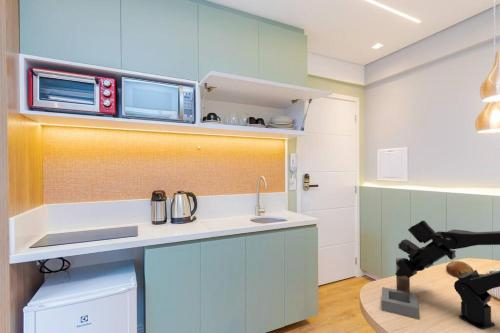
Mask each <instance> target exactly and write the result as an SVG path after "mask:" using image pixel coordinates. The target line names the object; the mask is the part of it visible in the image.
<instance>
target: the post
mask: <svg viewBox="0 0 500 333" xmlns="http://www.w3.org/2000/svg"><path fill="white" fill-rule="evenodd" d="M402 258H403V257H396V258H395V263H396V262H397V261H398V260H400V259H402ZM395 269H396V270H395V273H396V272H397V271H398V269H399V267H398V265H397V264H395ZM395 278H396V290H400V291H405V292H410V293H411V287H410V286H411V284H410V282H411V280H410V278H411V277H410V278H408V277H407V276H396V275H395Z"/></svg>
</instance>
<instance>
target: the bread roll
mask: <svg viewBox="0 0 500 333" xmlns="http://www.w3.org/2000/svg"><path fill="white" fill-rule="evenodd" d="M445 267H446V268H445V271H446V273H447V274H448V275H450V276H452V277H455V278H456V279H458V277H460V276H461V275H462V274H464V273H471V272H473V271H474V269H473V267H472V266H471V265H469V264H468V263H466V262H464V261H460V260H452V261H450V262H449V263H448V264H447V265H446V266H445Z"/></svg>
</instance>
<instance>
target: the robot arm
mask: <svg viewBox="0 0 500 333" xmlns="http://www.w3.org/2000/svg"><path fill="white" fill-rule="evenodd" d="M407 232H409V233H410V234H411V235H412V236H413V237H414V238H415V240H417V242H418V243H421V244H422V243H423V244H426V245H425V246H422V247H419V246H418V245H416V244H415V243H413V242H412V241H410V240H409V239H402V240H401V241H400V242H399V243H398V244H397V246H398V247H397V248H398V249H399V250H400V251H403V252H404V253H406V254H407V257H408V258H409V259H408V258H406V257H401V258H402V259H400V260H398V261H397V262H396V261H395V263H396V264H397V265H398V267H399V269H398V271H397V272H396V271H395V277H396V276H407V277H408V278H412V277H413V276H415V275H416V274H417V275H418V272H421V271H424V270H425V269H428V268H430V267H432V266H433V265H434V264H435V263H436V262H438V261H439V260H440V259H443V258H444V257H448V259H450V260H452V261H453V260H454V259H455V258H456V256H457V255H456V250H458V249H464V248H469V247H476V246H500V230H497V231H496V230H495V231H478V232H477V231H469V230H464V229H463V230H462V229H450V230H448V231H435V230H434V229H433V228H432V227H431V226H430V224H428V223H427V222H426V220H421V221H420V222H418V223H416V224H414V225H411V226H410V227H409V228H408V230H407ZM428 242H429V243H428ZM427 243H428V244H427ZM396 264H395V265H396ZM453 287H454V290H455V292H457V294H458V295H459V296H460V300H461V301H460V313H461V314H460V315H458V317H459V318H460V319H461V320H464V321H466V322H467V323H469V324H471V325H473V326H474V327H476V328H478V329H481V330H482V329H483V330H484V329H486V328H487V329H488V328H490V327H493V326H495V325H496V323H494V322H493V321H492V306H491V305H489V304H488V303H489V302H490V301H491V299H492V297H493V296H492V295H491V293H489V292H488V291H490V290H493V289H497V288H499V287H500V270H496V271H493V272H489V273H484V274H483V273H479V272H478V270H477V269H475V270H473V272H471V273H464V274H462V275H461V276H460V277H458V278H457V280H455V281H454V284H453Z"/></svg>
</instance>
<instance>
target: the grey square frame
mask: <svg viewBox="0 0 500 333" xmlns="http://www.w3.org/2000/svg"><path fill="white" fill-rule="evenodd" d="M417 297H418V296H417V294H416V293H413V292H411V291H410V292H405V291H400V290H397V289H395V288H389V287H384V286H382V287H381V311H384V312H389V313H393V314H396V315H400V316H405V317H409V318H414V319H416V320H417V319H418V320H420V306H419V301H418V298H417Z"/></svg>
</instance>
